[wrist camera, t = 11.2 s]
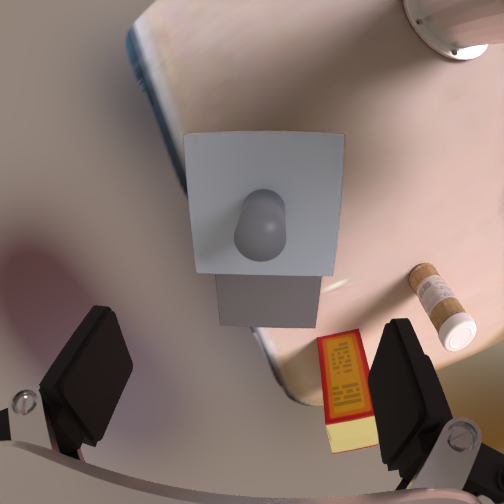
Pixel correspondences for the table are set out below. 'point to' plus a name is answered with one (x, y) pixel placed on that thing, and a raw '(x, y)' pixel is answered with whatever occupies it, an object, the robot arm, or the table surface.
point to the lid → (264, 201)
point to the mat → (268, 300)
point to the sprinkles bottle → (442, 308)
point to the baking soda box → (346, 392)
